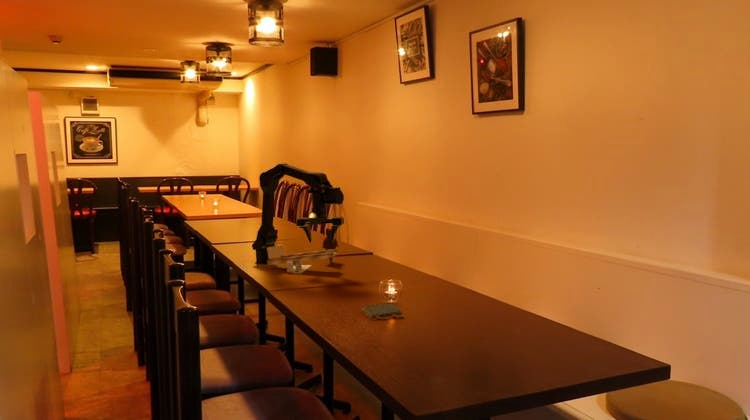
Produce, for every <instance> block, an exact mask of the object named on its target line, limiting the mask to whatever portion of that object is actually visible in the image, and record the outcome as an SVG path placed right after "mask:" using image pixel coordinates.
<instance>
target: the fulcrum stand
mask: <svg viewBox="0 0 750 420" xmlns="http://www.w3.org/2000/svg"><path fill="white" fill-rule="evenodd" d="M312 266H313V265H312V264H302V261H298V262H287V263H286V273H292V274H295V275H297V274H298V275H301V274H302V273H304V272H306V271H307V270H308V269H310V268H311V267H312Z"/></svg>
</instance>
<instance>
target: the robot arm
mask: <svg viewBox="0 0 750 420" xmlns="http://www.w3.org/2000/svg"><path fill="white" fill-rule="evenodd" d="M285 176H288V177H290V178H294V179H297V180H299V181H302V182H304V184H305V185H307V186H308V187H309V189H308V190H307V192H306V194H311V206H312V207H311V213H310V215H308V217H299V218H297V219H296V221H295V222H296V223H295V225H296V227H299V228H300V229H302V230H303V231H304V233H305V235H306V236H307V239H308V242H309V243H310V244H311V243H312V230H311V226H313V225H317V226H320V225H323V224H332V225H331V226H330V229H332V235H331V240H332V242H333V241H334V238H335V239H336V234H337V231H338V229H339V227H341V226H342V225H344V224H345V218H344V217H343V216H333V217H332V218H329V217H328V205H339V206H340V205H342V204H343V203H344V199H345V195H344V193H343V191H342V190H341V187H340V186H339V187H333V185H332V184H331V182H330V181H329V179H328V177H327V174H325V173H324V172H318V171H317V172H315V171H308V170H306V169H302V168H299V167H296V166H293V165H290V164H288V163H277V165H275V166H274V167H272V168H270V169H268V170H266V171H264V172H262V173H260V174H259V178H258V180H259V187H260V189H261V191H262V203H261V225H260V227H259V228H258V230H257V233H256V239H255V241H254V242H253V243H252V244H251V247H252V250H254V251H255V260H256V261H255V262H254V264H256V265H257V264H258V265H259V264H260V265H263V264H265V265H268V264H267V260H269V257H268V251H267V247H269V246H271V245H276V244H275V243H276V242H277V239H278V232H279V230H278V229H276V228H275V226H274V213H275V195H276V191H277V189H278V188H279V185H280V180H281V179H283V177H284V178H285Z"/></svg>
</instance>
